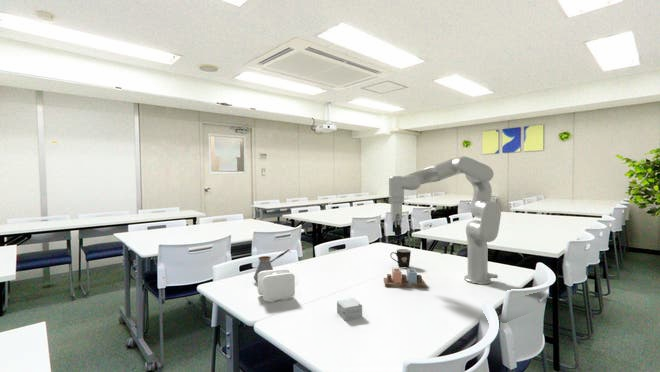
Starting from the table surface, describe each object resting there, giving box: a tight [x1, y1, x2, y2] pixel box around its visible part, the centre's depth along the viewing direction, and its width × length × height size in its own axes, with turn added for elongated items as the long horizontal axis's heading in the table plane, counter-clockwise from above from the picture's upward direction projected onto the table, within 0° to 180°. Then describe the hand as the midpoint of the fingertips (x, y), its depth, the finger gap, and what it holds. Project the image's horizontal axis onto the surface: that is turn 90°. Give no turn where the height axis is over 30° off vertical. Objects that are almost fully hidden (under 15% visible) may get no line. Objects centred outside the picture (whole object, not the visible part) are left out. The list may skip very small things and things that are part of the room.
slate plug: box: [406, 268, 418, 284], centre depth 158 cm, size 4×6×6 cm, turn 174°
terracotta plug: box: [391, 267, 403, 283], centre depth 158 cm, size 4×6×6 cm, turn 175°
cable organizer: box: [257, 267, 296, 303], centre depth 142 cm, size 15×11×12 cm
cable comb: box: [383, 273, 427, 289], centre depth 158 cm, size 20×10×4 cm, turn 85°
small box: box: [336, 297, 363, 321], centre depth 122 cm, size 8×8×5 cm
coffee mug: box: [389, 248, 412, 268], centre depth 191 cm, size 12×9×10 cm
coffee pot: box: [253, 249, 292, 282], centre depth 166 cm, size 21×12×15 cm, turn 128°
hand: (396, 233), depth 158 cm, fingers open, 9 cm apart
